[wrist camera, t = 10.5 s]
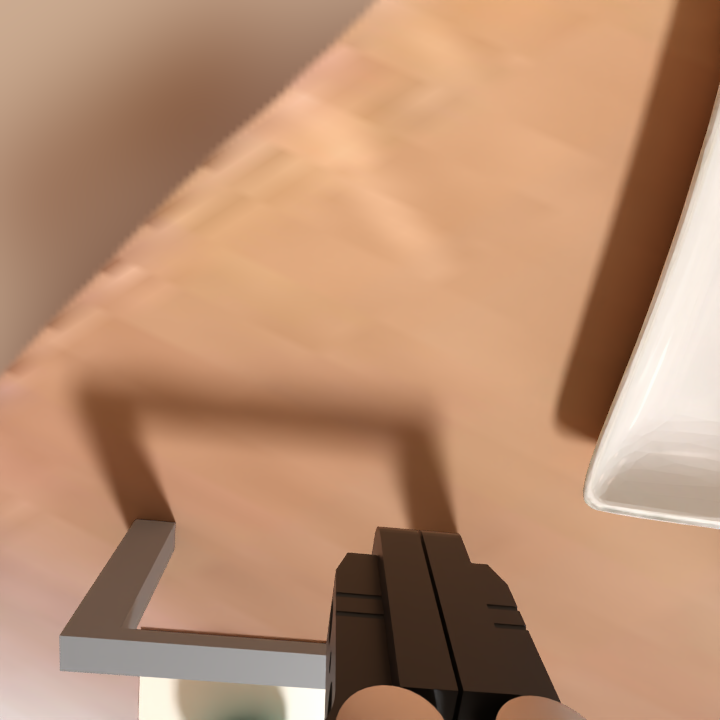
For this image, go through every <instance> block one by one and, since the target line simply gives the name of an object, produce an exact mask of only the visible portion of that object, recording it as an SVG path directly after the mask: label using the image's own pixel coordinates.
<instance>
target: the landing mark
mask: <svg viewBox="0 0 720 720" xmlns="http://www.w3.org/2000/svg"><path fill="white" fill-rule="evenodd" d="M325 690H326V689H312V688H298V687H284V686H269V685H255V684H241V683H227V682H212V681H198V680H184V679H169V678H155V677H141V676H140V687H139V720H324V717H325Z"/></svg>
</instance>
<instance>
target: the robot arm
mask: <svg viewBox="0 0 720 720" xmlns="http://www.w3.org/2000/svg"><path fill="white" fill-rule="evenodd" d="M325 689H326V690H325V717H324V720H586V719H585V718H584V717H583V716H581V715H580V714H579V713H577V712H576V711H574V710H573V709H571V708H569V707H568V706H566V705H564V704H562V703H561V702H560V700H559V698H558V695H557V693H556V691H555V689H554V686H553V684H552V682H551V680H550V678H549V675H548V673H547V671H546V669H545V667H544V664H543V662H542V660H541V658H540V656H539V653H538V651H537V649H536V647H535V645H534V642H533V640H532V638H531V636H530V634H529V631H528V630H526V625H525V623H524V620H523V618H522V616H521V614H520V612H519V611H517V605H516V603H515V601H514V598H513V596H512V594H511V592H510V590H509V587H508V585H507V584H506V583H505V582H504V581H503V580H502V579H501V578H500V577H499V576H498V575H497V574H496V573H495V572H494V571H493V570H492V569H491V568H490V567H489V566H488V565H486V564H474V563H471V562H470V559H469V556H468V554H467V551H466V548H465V546H464V543H463V541H462V538H461V536H460V535H459V534H456V533H445V532H434V531H423V530H419V531H417V530H410V529H399V528H388V527H377V529H376V532H375V538H374V544H373V551H372V555H369V554H358V553H347V555H346V556H345V558H344V559H343V560H342V562H341V563H340V565H339V566H338V568H337V569H336V574H335V582H334V589H333V597H332V604H331V612H330V620H329V627H328V635H327V642H326V679H325Z"/></svg>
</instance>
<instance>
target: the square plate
mask: <svg viewBox="0 0 720 720" xmlns="http://www.w3.org/2000/svg"><path fill="white" fill-rule="evenodd" d="M583 497H584V500H585V503H586V504H587V505H588V506H590V507H591V508H593V509H596V510H599V511H604V512H609V513H613V514H618V515H625V516H631V517H637V518H643V519H650V520H657V521H663V522H670V523H678V524H685V525H694V526H701V527H708V528H715V529H720V84H719V88H718V92H717V96H716V99H715V103H714V107H713V111H712V114H711V118H710V122H709V125H708V129H707V132H706V135H705V139H704V142H703V145H702V149H701V152H700V155H699V158H698V162H697V165H696V168H695V171H694V175H693V178H692V181H691V184H690V187H689V191H688V194H687V197H686V200H685V204H684V207H683V210H682V213H681V217H680V220H679V223H678V226H677V229H676V232H675V235H674V238H673V241H672V244H671V246H670V249H669V252H668V255H667V258H666V261H665V264H664V267H663V270H662V273H661V275H660V278H659V281H658V284H657V287H656V290H655V293H654V296H653V298H652V301H651V304H650V306H649V309H648V312H647V315H646V317H645V320H644V323H643V326H642V328H641V331H640V334H639V337H638V339H637V342H636V344H635V347H634V350H633V352H632V355H631V357H630V360H629V362H628V365H627V367H626V370H625V372H624V375H623V377H622V380H621V382H620V385H619V387H618V390H617V392H616V395H615V397H614V400H613V402H612V405H611V407H610V410H609V412H608V415H607V417H606V420H605V422H604V425H603V427H602V430H601V433H600V435H599V438H598V441H597V443H596V446H595V449H594V452H593V455H592V458H591V461H590V464H589V467H588V470H587V474H586V479H585V483H584V488H583Z"/></svg>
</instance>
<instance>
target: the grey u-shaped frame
mask: <svg viewBox="0 0 720 720" xmlns="http://www.w3.org/2000/svg"><path fill="white" fill-rule="evenodd" d="M174 544H175V523H174V522H163V521H152V520H141V519H136V520H135V521H134V523H133V524H132V526H131V527H130V529H129V530H128V532H127V533H126V535H125V536H124V538H123V540H122V541H121V543H120V544H119V546H118V547H117V549H116V550H115V552H114V553H113V555H112V556H111V558H110V559H109V561H108V562H107V564H106V565H105V567H104V568H103V570H102V572H101V573H100V575H99V576H98V578H97V579H96V581H95V582H94V584H93V585H92V587H91V588H90V590H89V591H88V593H87V594H86V596H85V597H84V599H83V601H82V602H81V604H80V605H79V607H78V608H77V610H76V611H75V613H74V614H73V616H72V617H71V619H70V620H69V622H68V623H67V625H66V626H65V628H64V630H63V631H62V633H61V634H60V671H69V672H83V673H98V674H112V675H126V676H141V677H155V678H169V679H184V680H198V681H212V682H227V683H241V684H255V685H269V686H284V687H298V688H312V689H325V679H326V644H324V643H311V642H298V641H285V640H272V639H258V638H245V637H232V636H219V635H205V634H192V633H179V632H166V631H153V630H139V629H136V628H137V626H138V624H139V622H140V620H141V618H142V615H143V613H144V611H145V609H146V607H147V605H148V603H149V601H150V599H151V597H152V595H153V593H154V591H155V589H156V586H157V584H158V582H159V580H160V578H161V576H162V574H163V572H164V570H165V568H166V566H167V564H168V562H169V560H170V558H171V555H172V553H173V551H174Z"/></svg>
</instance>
